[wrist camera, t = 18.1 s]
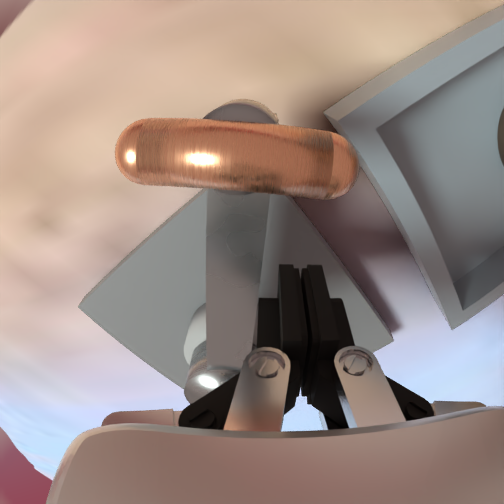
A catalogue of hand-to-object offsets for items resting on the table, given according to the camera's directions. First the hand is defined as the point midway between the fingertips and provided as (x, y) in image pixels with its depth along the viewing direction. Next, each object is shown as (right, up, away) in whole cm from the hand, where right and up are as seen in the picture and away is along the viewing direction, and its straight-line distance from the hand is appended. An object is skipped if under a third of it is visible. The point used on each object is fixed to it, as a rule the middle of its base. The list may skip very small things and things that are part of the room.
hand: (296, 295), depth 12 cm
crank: (-2, 0, +1) cm, 3 cm away
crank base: (-3, -2, +6) cm, 7 cm away
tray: (+13, +8, -1) cm, 15 cm away
